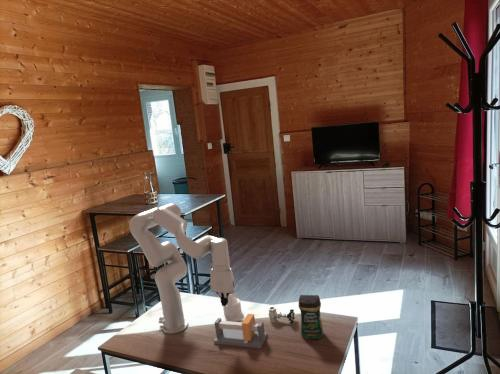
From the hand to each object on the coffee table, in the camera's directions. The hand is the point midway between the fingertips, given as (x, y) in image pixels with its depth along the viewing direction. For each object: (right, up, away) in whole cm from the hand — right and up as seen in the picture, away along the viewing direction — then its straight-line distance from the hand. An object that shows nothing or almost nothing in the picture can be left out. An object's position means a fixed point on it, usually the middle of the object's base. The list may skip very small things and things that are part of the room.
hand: (224, 304), depth 169 cm
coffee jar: (+39, -13, -3) cm, 41 cm away
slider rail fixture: (+7, -16, +1) cm, 17 cm away
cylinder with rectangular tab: (+2, -12, +26) cm, 29 cm away
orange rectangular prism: (+11, -13, -1) cm, 17 cm away
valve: (+26, -12, +12) cm, 31 cm away
